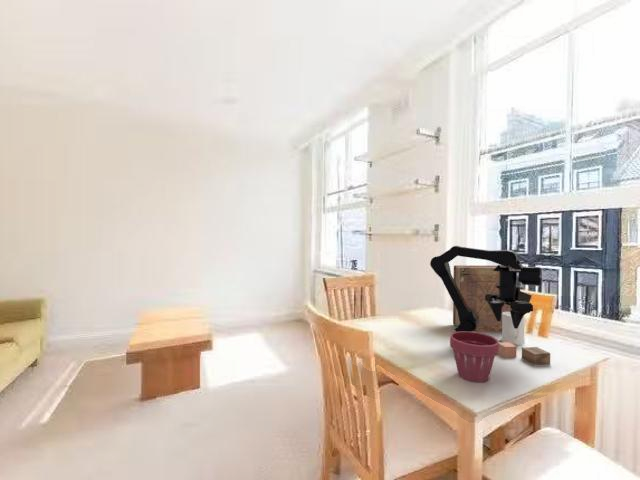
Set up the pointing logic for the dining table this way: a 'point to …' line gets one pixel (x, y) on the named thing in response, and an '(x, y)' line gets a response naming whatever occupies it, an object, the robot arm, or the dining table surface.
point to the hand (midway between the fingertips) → (507, 324)
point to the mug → (512, 330)
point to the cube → (507, 349)
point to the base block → (536, 356)
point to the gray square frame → (532, 364)
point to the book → (479, 294)
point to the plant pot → (474, 354)
